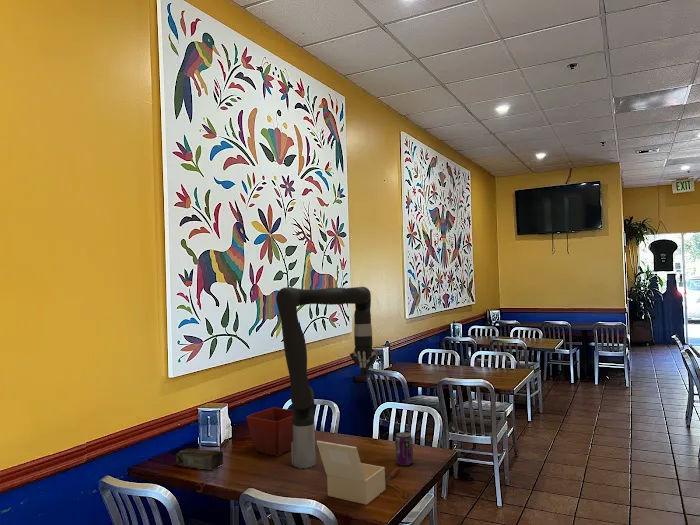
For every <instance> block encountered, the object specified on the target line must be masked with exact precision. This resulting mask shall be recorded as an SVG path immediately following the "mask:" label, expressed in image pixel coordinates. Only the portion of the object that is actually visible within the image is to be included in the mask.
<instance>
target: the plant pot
mask: <svg viewBox="0 0 700 525" xmlns="http://www.w3.org/2000/svg"><path fill="white" fill-rule="evenodd" d="M292 417H293V409H288V408H281V407H275V406H273V407H270V408H267V409H264V410H261V411H258V412H255V413H251V414H250V415H249V414H248V415H247V416H246V421H247V426H248V430H249V435H250V437H251V440H252V443H253V445H254V448H255V451H256V452H257V451H259V452H263V453H267V454H266V455H268V454H271V455H270V456H272V455H280V454H282V453H284V452H286V451H288V452H290V451H291V442H293V424H292ZM289 450H290V451H289ZM259 452H258V453H259ZM263 453H262V454H263ZM286 453H287V452H286ZM284 454H285V453H284ZM282 455H283V454H282ZM280 456H281V455H280Z"/></svg>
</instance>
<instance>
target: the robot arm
mask: <svg viewBox="0 0 700 525" xmlns="http://www.w3.org/2000/svg"><path fill="white" fill-rule="evenodd" d="M275 301H276V302H275V303H276V305H277V310H278V314H279V318H280V321H281V322H280V324H281V332H282V341H283V349H284V356H285V361H286V367H287V370H288V374H289V380H290V381H289V384H290V385H289V386H290V401H291V404H292V410H293V417H292V424H293V442H291V450H290V451H291V466H293V465H294V466H295V468H296V467H298V469H302V468H304V469H310V468H313V467H314V465H315V466H316V464H317V463H316V440H315V439H316V437H315V436H316V434H315V432H316V431H315V393H314V390H313V388H312V387H311V386H310V383H309V379H308V351H307V344H306V339H305V335H304V331H303V329H302V327H301V324H300V322H299V318H298V316H299V315H298V307H299V306H300V307H301V306H305V305H306V306H307V305H330V306H331V305H332V306H333V305H334V306H335V305H336V306H337V305H345V304H346V305H347V304H348V305H349V304H350V305H353V304H354V305H355V306H354V308H355V311H354V314H353V322H354V323H353V324H354V326H353V338H354V350H353V352H351V353H350V354H349V357H350V358H351V359H352V361H353V362H354V364H355V366H358V367H359V368H360V375H361V377H364V378H366V377H368V376H369V367H370V366H371V367H372V366H373V365H374V363H375V362H376V360H377V359H378V357H379V354H378V353H376V352H374V348H373V343H374V342H373V327H372V317H371V316H372V315H371V314H372V313H371V306H372V293H371V291H370V290H369V288H367V287H366V286H357V287H356V286H354V287H328V288H319V289H318V288H316V289H303V288H295V287H292V286H288V287H282V288H280V289H279V290H278V291H277V293H276V297H275ZM294 466H293V467H294ZM312 466H313V467H312ZM309 467H310V468H309Z"/></svg>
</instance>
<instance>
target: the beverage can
mask: <svg viewBox="0 0 700 525" xmlns="http://www.w3.org/2000/svg"><path fill="white" fill-rule="evenodd" d="M394 440H395V461H396V462H395V463H396V464H398V465H400V466H404V465H405V467H407V466H410V465H411V464H413V463H414V450H413V448H414V446H413V437H412V434H411V433H410V432H406V431H402V432H397V433H396V434H395V439H394Z"/></svg>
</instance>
